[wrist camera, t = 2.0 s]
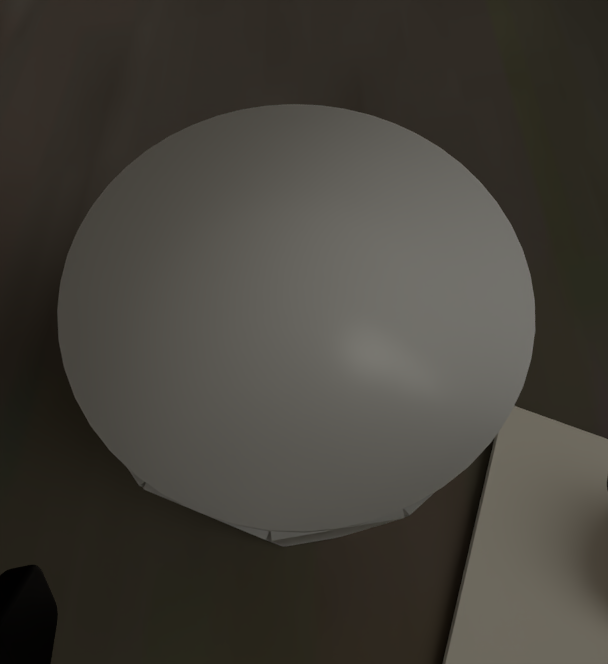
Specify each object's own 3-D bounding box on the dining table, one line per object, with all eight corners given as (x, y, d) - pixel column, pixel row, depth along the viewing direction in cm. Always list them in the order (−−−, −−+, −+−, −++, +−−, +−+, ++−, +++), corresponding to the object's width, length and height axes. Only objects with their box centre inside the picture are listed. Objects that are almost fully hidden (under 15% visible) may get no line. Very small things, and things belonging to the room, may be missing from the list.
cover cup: (358, 577, 17) (473, 626, 6) (160, 495, 18) (-46, 411, 7) (417, 382, 20) (570, 174, 9) (244, 319, 21) (188, 61, 10)
